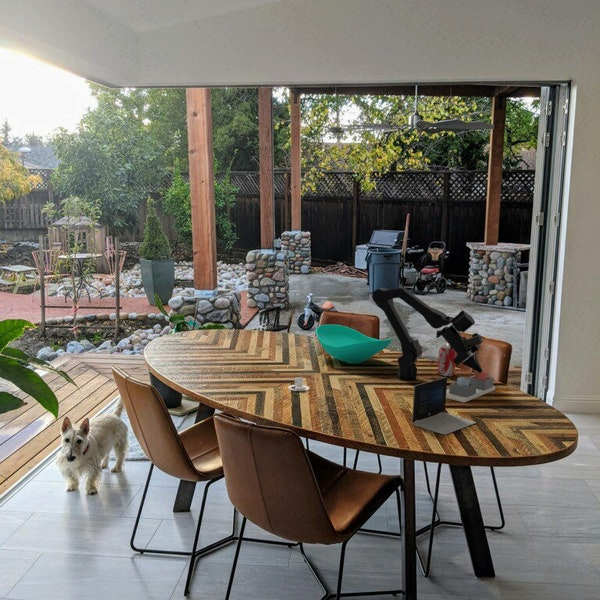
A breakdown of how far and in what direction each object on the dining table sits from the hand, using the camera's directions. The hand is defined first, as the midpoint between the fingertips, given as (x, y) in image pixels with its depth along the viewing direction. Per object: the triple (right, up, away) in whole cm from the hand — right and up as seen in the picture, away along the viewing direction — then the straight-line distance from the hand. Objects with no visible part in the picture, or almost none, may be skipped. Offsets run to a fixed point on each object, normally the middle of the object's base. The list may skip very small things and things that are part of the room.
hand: (481, 371), depth 246 cm
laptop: (-23, -13, -39) cm, 47 cm away
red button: (0, -5, +1) cm, 5 cm away
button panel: (-6, -8, -3) cm, 10 cm away
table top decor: (-46, 0, +40) cm, 61 cm away
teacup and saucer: (-72, -6, -6) cm, 73 cm away
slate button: (-10, -7, -9) cm, 15 cm away
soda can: (-8, -4, +23) cm, 25 cm away
